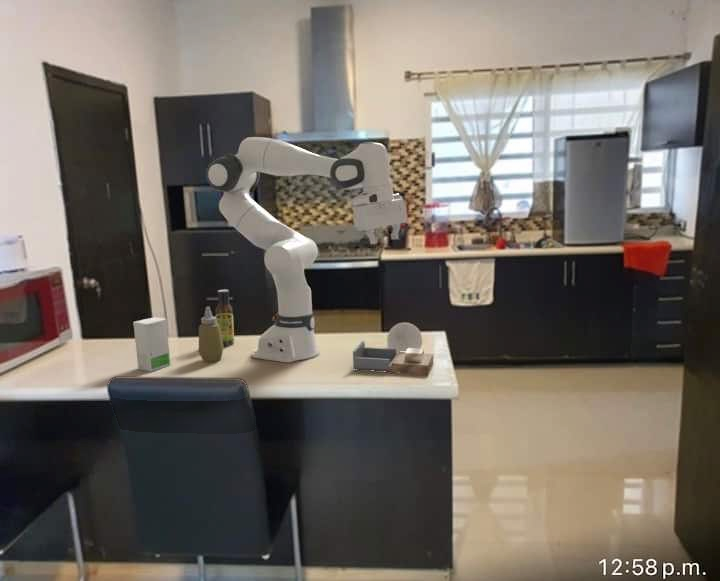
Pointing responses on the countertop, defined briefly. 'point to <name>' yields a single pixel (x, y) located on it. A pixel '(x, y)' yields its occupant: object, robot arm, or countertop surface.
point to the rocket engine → (404, 337)
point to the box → (373, 358)
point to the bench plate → (412, 364)
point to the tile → (414, 354)
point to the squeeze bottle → (210, 338)
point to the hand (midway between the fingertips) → (384, 241)
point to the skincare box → (152, 344)
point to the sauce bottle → (225, 317)
